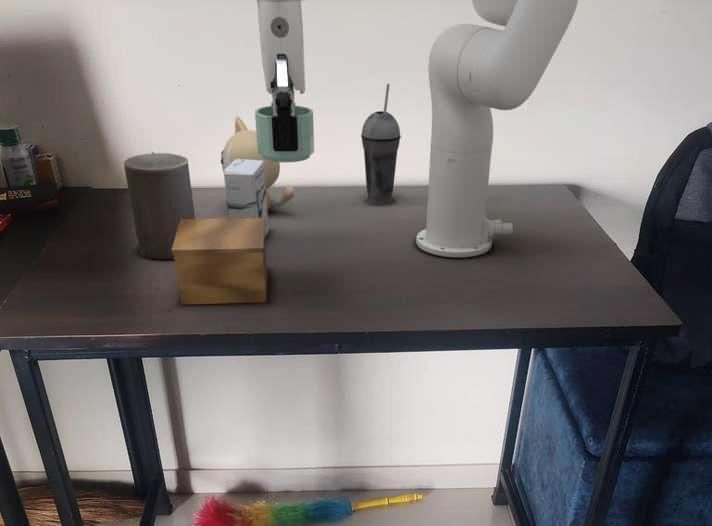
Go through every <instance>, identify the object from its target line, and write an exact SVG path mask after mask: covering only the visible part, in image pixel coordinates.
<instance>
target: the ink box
mask: <svg viewBox="0 0 712 526" xmlns="http://www.w3.org/2000/svg"><path fill="white" fill-rule="evenodd" d="M223 178H224V186H225V188H224V189H225V197H226V207H227V208H226V209H227V219H233V218H265V237H267V235H268V233H269V231H270V229H269V228H270V227H269V215H268V214H269V213H268V210H267V199H266V185H265V171H264V161H261V160H247V159H235V160H234V161H233V162H232V163H231V164H230V165H229V166H228V167H227V168H226V169H225V170H224V173H223Z"/></svg>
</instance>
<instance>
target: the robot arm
mask: <svg viewBox="0 0 712 526" xmlns="http://www.w3.org/2000/svg"><path fill="white" fill-rule="evenodd" d="M302 1H304V0H256V5H257V18H258V19H257V20H258V32H259V44H260V54H261V62H262V70H263V76H264V82H265V88H266V91H267V93H268V94H269V95H271V98H272V99H271V100H272V102H271V105H270V106H273V117H271V119H272V136H273V149H274V151H297V150H298V130H297V117H295V106H296V102H295V91H299V94H300V95H303V94H304V93H305V92H306V78H305V75H306V74H305V50H304V49H305V44H304V43H305V42H304V41H305V40H304V23H303V22H304V21H303V10H302ZM471 1H472V6H473V9H474V11H475V13H476V14H477V16H479V18H481V19H482V20H484V21H486V22H488V23H491V24H493V25H497V26H501V27H504V28H503V29H498V28H494V27H489V26H485V25H478V24H473V23H458V24H454V25H450V26H449V27H447V28H445V29H444V30H442V31H441V32H440V34H438V36H437V37H436V38H435V40H434V42H433V44H432V45H431V48H430V52H429V56H428V68H427V69H428V71H427V72H428V81H429V82H428V83H429V90H430V99H431V134H430V135H431V136H430V150H429V151H430V153H429V169H428V173H429V174H428V187H427V204H426V205H427V206H426V222H425V223H426V225H425V228H424V229H422V230H421V231H419V232H418V233H417V234H416V239H415V243H416V246H417V247H418V248H419V249H420V250H422V251H423V252H425V253H428V254H431V255H434V256H438V257H444V258H455V259H457V258H460V259H461V258H471V257H477V256H481V255H483V254H485V253H487V252H488V251H490V250H491V248H492V243H493V239H492V238H494V236H512V235H513V230H514V227H513V223H512V222H503V221H502V219H493V220H489V219H488V218H487V216H486V210H487V200H488V190H489V180H490V171H491V161H492V153H493V152H492V149H493V141H494V120H493V114H492V109H495V110H500V111H511V110H515V109H517V108H519V107H521V106H522V105H523V104H524V103H525V102H526V101H528V99H529V98H530V96H531V95H532V94H533V92H534V91H535V89H536V88H537V86H538V84H539V83H540V81H541V79H542V77H543V75H544V74H545V71H546V69H547V68H548V66H549V64H550V62H551V60H552V58H553V57H554V54H555V53H556V51H557V49H558V47H559V45H560V43H561V41H562V39H563V37H565V36H564V35H565V34H566V32H567V30H568V28H569V26H570V24H571V22H572V19H573V18H574V15H575V12H576V9H577V6H578V3H579V0H471ZM290 107H291V111H290ZM277 114H278V117H277Z"/></svg>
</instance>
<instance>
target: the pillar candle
mask: <svg viewBox="0 0 712 526" xmlns="http://www.w3.org/2000/svg"><path fill="white" fill-rule="evenodd" d="M123 166H124V172H125V179H126V185H127V191H128V196H129V201H130V202H129V203H130V207H131V211H132V216H133V217H132V218H133V222H134V223H133V224H134V228H135V230H134V231H135V236H136V239H137V244H138V248H139V249H138V252H139V254H140V255H141V256H142V257H145V258H147V259H152V260H153V259H154V260H175V259H174V254H172V251H171V250H172V246H173V243H174V240H175V236H176V233H177V230H178V226H179V223H180V220H181V219H196V213H195V206H194V198H193V191H192V183H191V176H190V175H191V174H190V167H189V159H188V158H187V157H185V156H182V155H180V154H174V153H170V152H156V153H155V151H151V153H144V154H143V153H142V154H138V155H133V156H131V157H127V158H126V159H125V160H124V161H123Z"/></svg>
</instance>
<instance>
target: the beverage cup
mask: <svg viewBox="0 0 712 526" xmlns="http://www.w3.org/2000/svg"><path fill="white" fill-rule="evenodd" d="M389 92H390V83H386V88H385V96H384V97H385V98H384V105H383V110H379V111H375V112H372V113H371V114H370V115H369V116H368V117H367V118H366V119H365V120H364V122H363V125H362V128H361V134H360V137H361V143H362V148H363V157H364V170H365V184H366V185H365V187H366V193H367V202H368V203H369V204H371V205H376V206H377V205H378V206H386V205H389V204H391V203H392V201H393V195H394V194H393V193H394V186H395V175H396V168H397V167H396V166H397V158H398V149H399V146H400V142H401V141H400V140H401V138H402V135H401V130H400V129H401V128H400V126H399V123H398V121H397V120H396V118H395V116H394V115H392V114H391V113H390V112H387V110H388V102H389V94H390V93H389Z"/></svg>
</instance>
